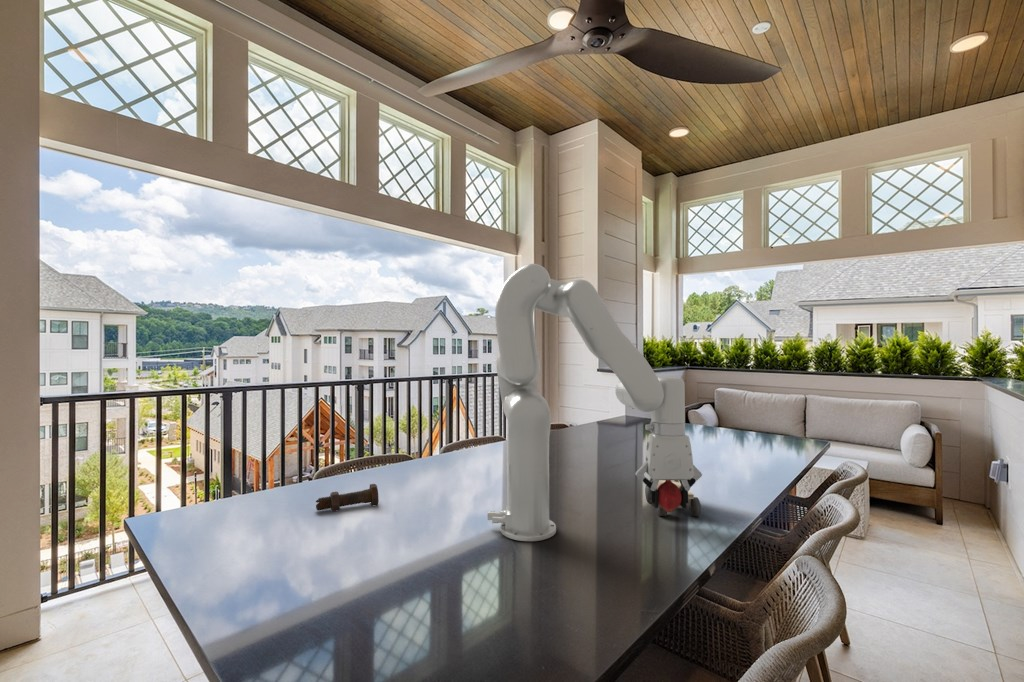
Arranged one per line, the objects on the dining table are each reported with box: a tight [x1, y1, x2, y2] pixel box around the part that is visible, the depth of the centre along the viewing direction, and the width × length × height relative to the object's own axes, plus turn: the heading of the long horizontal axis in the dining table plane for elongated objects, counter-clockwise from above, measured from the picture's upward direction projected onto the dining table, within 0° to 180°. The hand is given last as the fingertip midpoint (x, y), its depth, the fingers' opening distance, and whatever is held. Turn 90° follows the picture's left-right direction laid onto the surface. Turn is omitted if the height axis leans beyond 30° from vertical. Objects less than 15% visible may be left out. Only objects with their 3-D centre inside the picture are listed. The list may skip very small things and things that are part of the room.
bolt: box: [315, 483, 379, 512], centre depth 122 cm, size 6×5×15 cm
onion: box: [657, 480, 682, 513], centre depth 111 cm, size 6×6×8 cm
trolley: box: [644, 480, 702, 517], centre depth 121 cm, size 14×10×14 cm, turn 179°
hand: (668, 505), depth 111 cm, fingers closed on onion, 5 cm apart
